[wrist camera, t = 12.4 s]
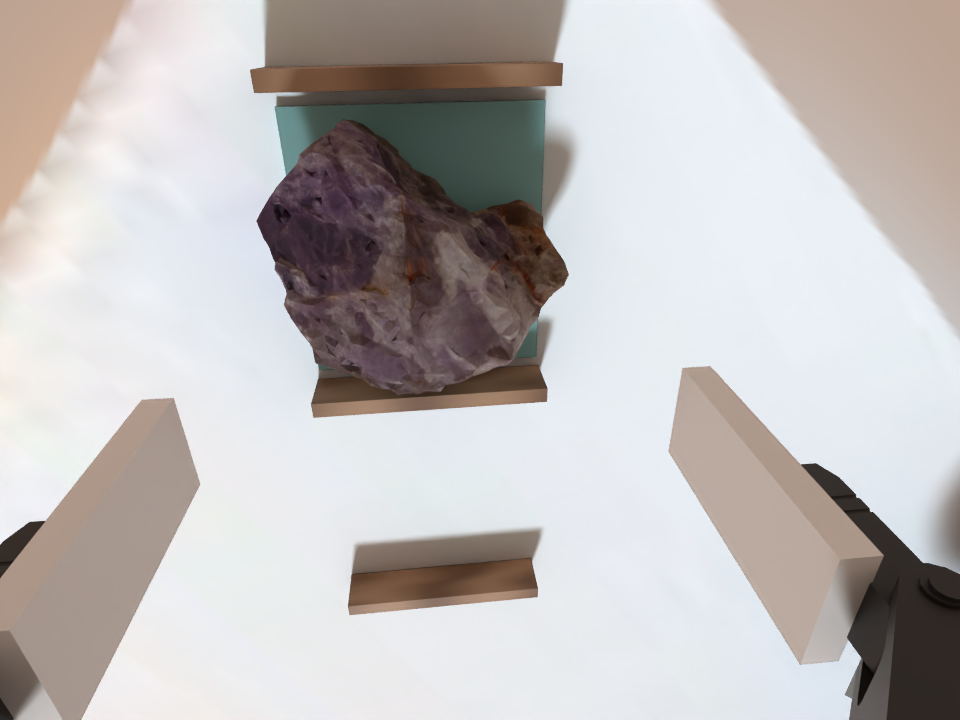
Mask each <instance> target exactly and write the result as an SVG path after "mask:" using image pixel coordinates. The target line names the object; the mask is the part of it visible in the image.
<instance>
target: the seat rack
mask: <svg viewBox="0 0 960 720" xmlns="http://www.w3.org/2000/svg"><path fill="white" fill-rule="evenodd" d="M250 73H251V78H252V84H253V89H254V93H275V92H317V91H360V90H403V89H446V88H488V87H531V86H562V73H563V63H557V62H501V63H451V64H400V65H350V66H300V67H263V68H257V69H251V70H250ZM534 402H547V386H546V384H545V381H544V379H543V376H542V373H541V371H540V368H539V366H538V365H534V366H518V367H502V368H493V369H491V370H489V371H487V372H485V373H482V374H479V375H476V376H472V377H470V378H469V379H467V380H465V381H463V382H460V383H455V384H451V385H450V386H448V387H447V388H445V389H444V390H442V391H441V392H436V391H426V392H423V393H420V394H414V393H409V394H401V395H397V394H396V393H394V392H393V391H392V390H391V389H380V388H377V387H373V386H370V385H369V384H368V383H367V382H366V381H365V380H364V379H362V378H357V377H344V378H328V379H318V381H317V385H316V389H315V392H314V396H313V399H312V403H311V407H312V412H313V417H314V418H315V417H330V416H344V415H359V414H374V413H388V412H403V411H417V410H432V409H447V408H461V407H476V406H490V405H505V404H520V403H534ZM533 597H538V587H537V582H536V578H535V574H534V569H533V565H532V561H531V558H529V559H518V560H507V561H496V562H485V563H474V564H463V565H452V566H441V567H430V568H419V569H408V570H397V571H386V572H375V573H364V574H353V575H352V576H351V585H350V594H349V603H348V609H349V614H350V615H356V614H366V613H377V612H387V611H397V610H408V609H418V608H429V607H439V606H449V605H460V604H470V603H481V602H491V601H501V600H512V599H522V598H533Z"/></svg>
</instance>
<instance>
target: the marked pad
mask: <svg viewBox="0 0 960 720" xmlns="http://www.w3.org/2000/svg"><path fill="white" fill-rule="evenodd" d="M275 112H276V118H277V124H278V130H279V136H280V141H281V147H282V153H283V159H284V165H285V171H286V176H287V175H288V173H289V172H290V171H291V170H292V169H293V168H294V166H295V165H296V164H297V162H298V158H299V154H300V153H302V152H303V151H304V150H305V149H306V148H307V147H308V146H310V145H311V144H312V143H313V142H314V141H316V140H317V139H319V138H320V137H322V136H323V135H325V134H326V133H328V132H329V131H330V130H332V129H334V128H335V126H336V124H337V123H340V122H341V121H342V119H345V120H354V121H356V122H359V123H361V124H364V125H365V126H366V127H368V128H369V129H371V130H372V131H373V132H374V133H375V134H376V135H378V136H380V137H382V138H384V139H386V140H387V141H388V142H389V143H390V144H391V145H393V146H394V147H395V148H396V149H398V151H399V155H400V156H401V157H402V158H403V159H404V160H406V161H407V162H408V163H409V164H410V165H411V167H412V168H413V169H415V170H417V171H419V172H421V173H423V174H425V175H427V176H430V177H432V178H434V179H436V181H437V182H438V183H439V184H440V185H441V186H442V188H443V189H444V191H445V193H446V195H447V196H448V197H449V198H450V199H452V200H453V201H454V202H455V203H456V204H458V205H459V206H461V207H463V208H466V210H468V211H469V212H476V211H478V210H481V209H486V208H488V207H490V206H496V205H501V204H507V203H510V202H512V201H515V200H517V199H519V200H523V201H525V202H527V203H530V204H532V205H534V207H535V209H536V211H537V212H539V213H541V207H542V179H543V151H544V123H545V100H509V101H469V102H430V103H390V104H351V105H311V106H276V107H275ZM537 319H538V318H537ZM537 319H536V321H535V322H534V323H533V324H532V325H531V326H530V327H529V331H528V333H527V336H526V337H525V339H524V340H523V343H522V345H521V347H520V348H519V350H518V352H517V353H516V357H515V358H526V357H536V347H537ZM318 366H319V370H332V369H333V368H330V367H326V366H323V365H320V364H318Z"/></svg>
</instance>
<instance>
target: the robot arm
mask: <svg viewBox="0 0 960 720" xmlns="http://www.w3.org/2000/svg"><path fill="white" fill-rule="evenodd" d="M669 453H670V455H671V456H672V458H673V460H674V461H675V463H676V465H677V466H678V468H679V469H680V471H681V473H682V474H683V476H684V477H685V479H686V481H687V482H688V484H689V486H690V487H691V489H692V490H693V492H694V494H695V495H696V497H697V498H698V500H699V502H700V503H701V505H702V507H703V508H704V510H705V511H706V513H707V515H708V516H709V518H710V520H711V521H712V523H713V524H714V526H715V528H716V529H717V531H718V532H719V534H720V536H721V537H722V539H723V541H724V542H725V544H726V545H727V547H728V549H729V550H730V552H731V554H732V555H733V557H734V558H735V560H736V562H737V563H738V565H739V566H740V568H741V570H742V571H743V573H744V575H745V576H746V578H747V579H748V581H749V583H750V584H751V586H752V588H753V589H754V591H755V592H756V594H757V596H758V597H759V599H760V600H761V602H762V604H763V605H764V607H765V609H766V610H767V612H768V613H769V615H770V617H771V618H772V620H773V621H774V623H775V625H776V626H777V628H778V630H779V631H780V633H781V634H782V636H783V638H784V639H785V641H786V643H787V644H788V646H789V647H790V649H791V651H792V652H793V654H794V655H795V657H796V659H797V660H798V662H799V664H800V665H802V664H812V663H822V662H833V661H839V659H840V657H841V655H842V652H843V650H844V648H845V645H846V643H847V641H848V640H849V641H850V643H851V644H852V645H853V647H854V648H855V649H856V651H857V652H858V654H859V655H860V656H861V661H860V663H859V665H858V667H857V669H856V671H855V674H854V676H853V678H852V680H851V682H850V685H849V687H848V689H847V691H846V693H845V695H846V696H848V697H850V698H852V703H851V710H850V717H849V720H960V574H958V573H956V572H954V571H952V570H949V569H947V568H945V567H941V566H937V565H933V564H929V563H922V562H921V561H920V559H919V558H918V557H917V556H916V555H915V554H914V553H913V552H912V551H911V550H910V549H909V548H908V547H907V546H906V545H905V544H904V543H903V542H902V541H901V540H900V539H899V538H898V537H897V536H896V535H895V534H894V533H893V532H892V531H891V530H890V529H889V528H888V527H887V526H886V525H885V524H884V523H883V522H882V521H881V520H880V519H879V518H878V517H877V516H876V515H875V514H874V513H873V512H870V510H869V509H870V508H869V507H868V506H867V505H866V504H865V503H864V502H863V501H862V500H861V499H860V498H856V494H855V493H854V492H853V491H852V490H851V489H850V488H849V487H848V486H847V485H846V484H845V483H844V482H843V481H842V480H841V479H840V478H839V477H838V476H836V475H834V474H833V473H831V472H829V471H828V470H826V469H824V468H823V467H821V466H819V465H818V464H816V463H815V464H801V465H800V464H799V462H798V461H797V460H796V459H795V458H794V457H793V456H792V455H791V454H790V453H789V452H788V450H787V449H786V448H785V447H784V446H783V445H782V444H781V443H780V442H779V441H778V440H777V438H776V437H775V436H774V435H773V434H772V433H771V432H770V431H769V430H768V429H767V428H766V426H765V425H764V424H763V423H762V422H761V421H760V420H759V419H758V418H757V417H756V416H755V414H754V413H753V412H752V411H751V410H750V409H749V408H748V407H747V406H746V405H745V404H744V402H743V401H742V400H741V399H740V398H739V397H738V396H737V395H736V394H735V393H734V392H733V390H732V389H731V388H730V387H729V386H728V385H727V384H726V383H725V382H724V381H723V380H722V378H721V377H720V376H719V375H718V374H717V373H716V372H715V371H714V370H713V369H712V368H711V366H708V367H691V368H683V369H682V375H681V381H680V387H679V392H678V398H677V404H676V410H675V416H674V422H673V428H672V434H671V440H670V446H669ZM199 486H200V482H199V479H198V476H197V472H196V469H195V466H194V463H193V459H192V456H191V453H190V450H189V446H188V443H187V440H186V437H185V433H184V430H183V427H182V424H181V421H180V417H179V414H178V411H177V408H176V404H175V401H174V398H167V399H150V400H141V402H140V403H139V404H138V405H137V407H136V408H135V409H134V410H133V412H132V413H131V414H130V415H129V417H128V418H127V419H126V421H125V422H124V423H123V424H122V426H121V427H120V428H119V429H118V431H117V432H116V433H115V434H114V436H113V437H112V438H111V439H110V441H109V442H108V443H107V444H106V446H105V447H104V448H103V449H102V451H101V452H100V453H99V455H98V456H97V457H96V458H95V460H94V461H93V462H92V463H91V465H90V466H89V467H88V468H87V470H86V471H85V472H84V473H83V475H82V476H81V477H80V478H79V480H78V481H77V482H76V484H75V485H74V486H73V487H72V489H71V490H70V491H69V492H68V494H67V495H66V496H65V497H64V499H63V500H62V501H61V502H60V504H59V505H58V506H57V507H56V509H55V510H54V511H53V512H52V514H51V515H50V516H49V518H48V519H47V520H46V521H37V522H29V523H28V524H26V525H25V526H24V527H22V528H21V529H20V530H18V531H17V532H15V533H14V534H13V535H11V536H10V537H9V538H7V539H6V540H5V541H3V542H2V543H1V545H0V720H81V719H82V717H83V715H84V713H85V711H86V709H87V707H88V705H89V703H90V701H91V699H92V697H93V695H94V693H95V691H96V689H97V687H98V685H99V683H100V681H101V679H102V677H103V675H104V673H105V671H106V669H107V668H108V666H109V664H110V662H111V660H112V658H113V656H114V654H115V652H116V650H117V648H118V646H119V644H120V642H121V640H122V638H123V636H124V634H125V632H126V630H127V628H128V626H129V624H130V622H131V620H132V618H133V616H134V614H135V612H136V610H137V608H138V606H139V604H140V602H141V600H142V598H143V596H144V594H145V592H146V590H147V588H148V586H149V584H150V582H151V580H152V579H153V577H154V575H155V573H156V571H157V569H158V567H159V565H160V563H161V561H162V559H163V557H164V555H165V553H166V551H167V549H168V547H169V545H170V543H171V541H172V539H173V537H174V535H175V533H176V531H177V529H178V527H179V525H180V523H181V521H182V519H183V517H184V515H185V513H186V511H187V509H188V507H189V505H190V503H191V501H192V499H193V497H194V495H195V493H196V492H197V490H198V488H199Z"/></svg>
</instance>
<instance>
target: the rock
mask: <svg viewBox="0 0 960 720" xmlns="http://www.w3.org/2000/svg"><path fill="white" fill-rule="evenodd" d="M257 223H258V226H259V228H260V231H261V233H262V235H263V238H264V240H265V241H266V243H267V244H268V246H269V248H270V251H271V254H272V256H273V259H274V261H275V262H276V263H275V271H276V272H277V274H278V275H279V276H280V278H281V280H282V282H283V285H284V287H285V289H286V292H287V295H286V298H285V303H284V306H285V308H286V310H287V312H288V313H289V315H290V317H291V319H292V320H293V322H294V323H295V325H296V326H297V327H298V329H299V330H300V332H301V333H302V334H303V336H304V337H305V338H306V339H307V340H308V342H309V343H310V345H311V346H312V348H313V353H314V358H315V362H316V363H317V364H320V365H323V366H326V367H330V368H333V369H336V370H339V371H341V372H342V373H350V374H352V375H353V376H355V377H357V378H362V379H364V380H365V381H366V382H367V383H368V384H369V385H370V386H373V387H377V388H380V389H391V390H392V391H393V392H394V393H396V394H397V395H401V394H409V393H414V394H420V393H423V392H426V391H436V392H441V391H442V390H444V389H445V388H447V387H448V386H450V385H451V384H455V383H460V382H463V381H465V380H467V379H469V378H470V377H472V376H476V375H479V374H482V373H485V372H487V371H489V370H491V369H493V368H496V367H498V366H507V365H508V364H509V363H510V362H511V361H512V360H513V359H514V358H515V357H516V353H517V352H518V350H519V348H520V347H521V345H522V343H523V340H524V339H525V337H526V336H527V333H528V331H529V327H530V326H531V325H532V324H533V323H534V322H535V321H536V319H537V318H538V317H539V313H540V310H541V308H542V306H543V305H544V304H545V303H546V301H547V300H548V298H549V297H550V296H552V294H553V293H554V292H555V291H557V290H558V289H560V288H561V287H562V286H564V284H565V281H566V279H567V277H568V275H569V274H568V271H567V268H566V265H565V262H564V261H563V259H562V258H561V256H560V255H559V253H558V252H557V250H556V249H555V247H554V246H553V244H552V243H551V241H550V239H549V238H548V237H547V236H546V234H545V231H544V229H543V217H542V215H541V213H539V212H537V211H536V209H535V207H534V205H532V204H530V203H527V202H525V201H523V200H519V199H517V200H515V201H512V202H510V203H507V204H501V205H496V206H490V207H488V208H486V209H481V210H478V211H476V212H469V211H468V210H466V208H463V207H461V206H459V205H458V204H456V203H455V202H454V201H453V200H452V199H450V198H449V197H448V196H447V195H446V193H445V191H444V189H443V188H442V186H441V185H440V184H439V183H438V182H437V181H436V179H434V178H432V177H430V176H427V175H425V174H423V173H421V172H419V171H417V170H415V169H413V168H412V167H411V165H410V164H409V163H408V162H407V161H406V160H404V159H403V158H402V157H401V156H400V155H399V151H398V149H396V148H395V147H394V146H393V145H391V144H390V143H389V142H388V141H387V140H386V139H384V138H382V137H380V136H378V135H376V134H375V133H374V132H373V131H372V130H371V129H369V128H368V127H366V126H365V125H364V124H361V123H359V122H356V121H354V120H345V119H342V121H341V122H340V123H337V124H336V126H335V128H334V129H332V130H330V131H329V132H328V133H326V134H325V135H323V136H322V137H320V138H319V139H317V140H316V141H314V142H313V143H312V144H311V145H310V146H308V147H307V148H306V149H305V150H304V151H303V152H302V153H300V154H299V158H298V162H297V164H296V165H295V166H294V168H293V169H292V170H291V171H290V172H289V173H288V175H287V176H286V177H285V178H284V179H283V180H282V181H281V183H280V184H279V185H278V186H277V187H276V189H275V190H274V192H273V193H272V195H271V196H270V198H269V199H268V201H267V203H266V204H265V206H264V208H263V210H262V211H261V213H260V215H259V217H258V219H257Z"/></svg>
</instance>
